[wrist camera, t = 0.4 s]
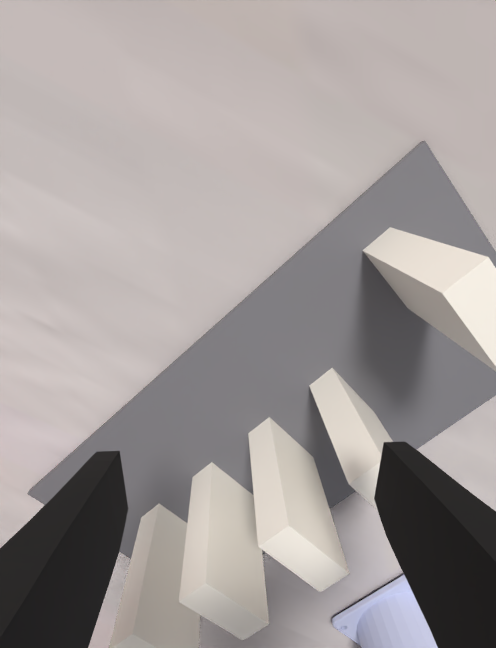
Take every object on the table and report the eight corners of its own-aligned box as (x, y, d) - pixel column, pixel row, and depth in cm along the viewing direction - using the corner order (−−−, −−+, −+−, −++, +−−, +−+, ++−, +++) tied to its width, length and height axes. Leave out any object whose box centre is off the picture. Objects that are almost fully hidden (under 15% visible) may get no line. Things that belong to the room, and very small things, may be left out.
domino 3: (313, 457, 22) (349, 573, 16) (292, 472, 22) (320, 592, 16) (269, 417, 21) (288, 525, 14) (248, 433, 21) (258, 546, 15)
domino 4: (374, 412, 21) (440, 516, 15) (352, 428, 21) (407, 537, 15) (332, 367, 20) (383, 459, 13) (309, 385, 20) (348, 483, 14)
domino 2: (257, 498, 23) (269, 624, 17) (238, 511, 23) (242, 640, 17) (211, 462, 22) (205, 583, 15) (192, 477, 22) (178, 601, 16)
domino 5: (434, 287, 19) (546, 346, 12) (407, 308, 19) (503, 376, 12) (390, 227, 17) (488, 256, 11) (362, 250, 18) (442, 293, 11)
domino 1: (205, 535, 24) (197, 669, 17) (187, 548, 24) (173, 684, 18) (159, 503, 23) (132, 634, 16) (141, 517, 23) (108, 650, 17)
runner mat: (554, 349, 21) (558, 351, 20) (197, 595, 26) (196, 599, 26) (421, 141, 16) (425, 140, 16) (29, 489, 22) (27, 493, 22)
